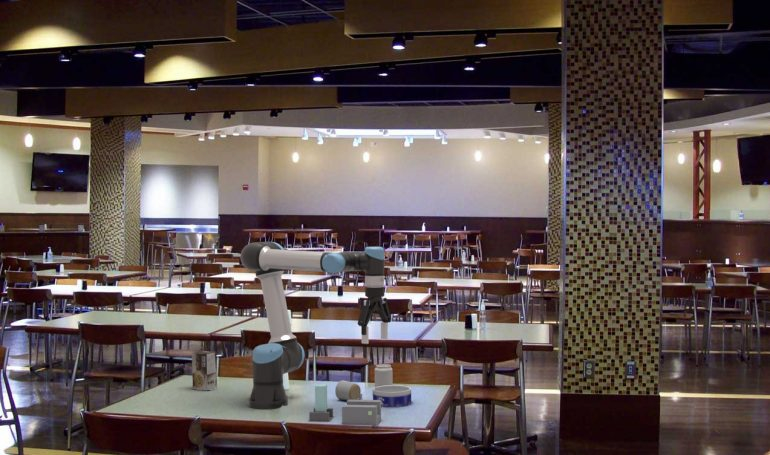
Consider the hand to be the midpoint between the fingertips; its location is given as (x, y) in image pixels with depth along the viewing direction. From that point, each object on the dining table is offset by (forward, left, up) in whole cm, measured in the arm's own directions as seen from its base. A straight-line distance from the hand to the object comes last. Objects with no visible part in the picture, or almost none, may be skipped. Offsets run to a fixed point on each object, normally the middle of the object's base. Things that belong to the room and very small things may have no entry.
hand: (374, 341), depth 328 cm
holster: (-15, -27, -25) cm, 40 cm away
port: (0, -28, -25) cm, 38 cm away
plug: (-15, -27, -24) cm, 40 cm away
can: (0, +24, -25) cm, 35 cm away
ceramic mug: (-12, +11, -26) cm, 30 cm away
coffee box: (-79, +27, -25) cm, 87 cm away
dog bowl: (+6, +6, -26) cm, 27 cm away
